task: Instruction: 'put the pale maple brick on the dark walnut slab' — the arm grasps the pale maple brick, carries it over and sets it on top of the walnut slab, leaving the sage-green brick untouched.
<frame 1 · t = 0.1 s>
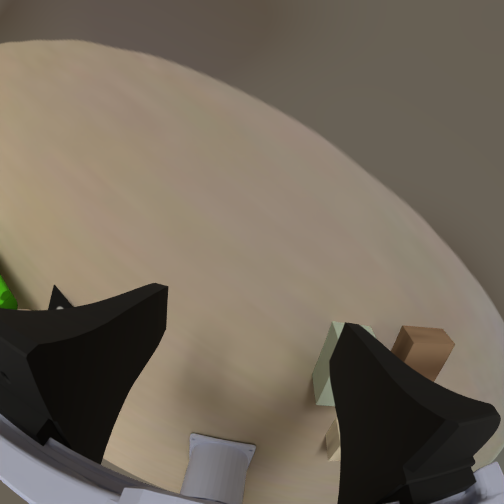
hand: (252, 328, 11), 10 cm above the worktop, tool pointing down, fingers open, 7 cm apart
maple brick: (353, 426, 26), on the worktop
sage brick: (340, 351, 22), on the worktop
walnut slab: (407, 355, 22), on the worktop
toy: (7, 263, 24), on the worktop
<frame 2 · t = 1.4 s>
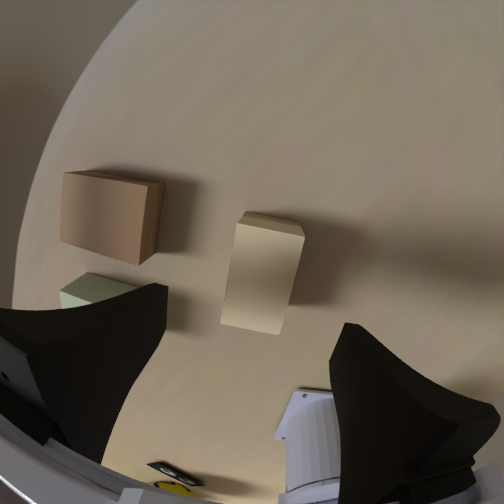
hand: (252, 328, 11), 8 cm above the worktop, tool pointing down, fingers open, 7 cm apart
maple brick: (263, 260, 19), on the worktop
sage brick: (116, 299, 21), on the worktop
walnut slab: (119, 209, 19), on the worktop
toy: (150, 482, 33), on the worktop
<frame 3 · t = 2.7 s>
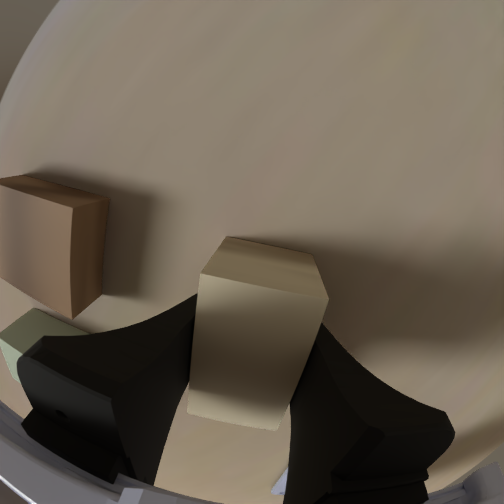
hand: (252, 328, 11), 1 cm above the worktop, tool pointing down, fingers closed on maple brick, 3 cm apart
maple brick: (255, 310, 12), on the worktop, touching gripper
sage brick: (69, 343, 14), on the worktop
walnut slab: (58, 229, 12), on the worktop
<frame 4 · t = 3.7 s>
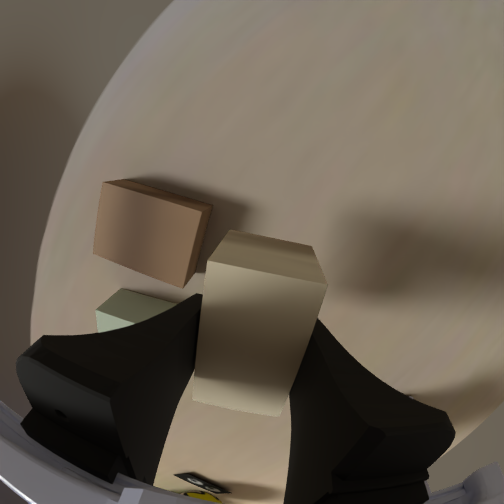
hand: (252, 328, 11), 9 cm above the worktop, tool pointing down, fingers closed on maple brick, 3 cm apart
maple brick: (257, 300, 13), point 6 cm above the worktop, touching gripper
sage brick: (153, 315, 21), on the worktop
walnut slab: (159, 224, 19), on the worktop
toy: (170, 490, 33), on the worktop
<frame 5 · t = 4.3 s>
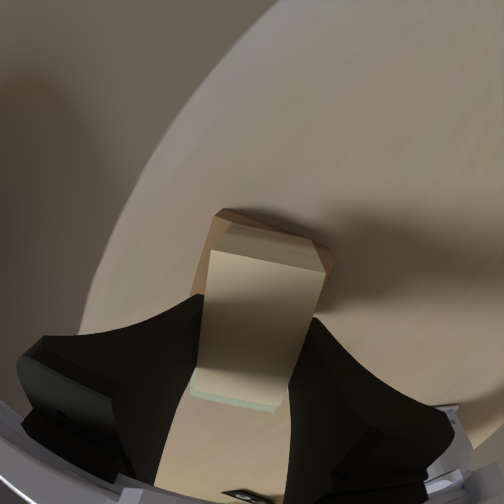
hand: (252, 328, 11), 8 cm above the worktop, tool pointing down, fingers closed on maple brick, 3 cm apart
maple brick: (258, 293, 13), point 5 cm above the worktop, touching gripper
sage brick: (242, 353, 20), on the worktop
walnut slab: (262, 262, 18), on the worktop
when the fingers open (5 cm above the worktop, at t = 5.0 s): maple brick stays where it is, resting on walnut slab.
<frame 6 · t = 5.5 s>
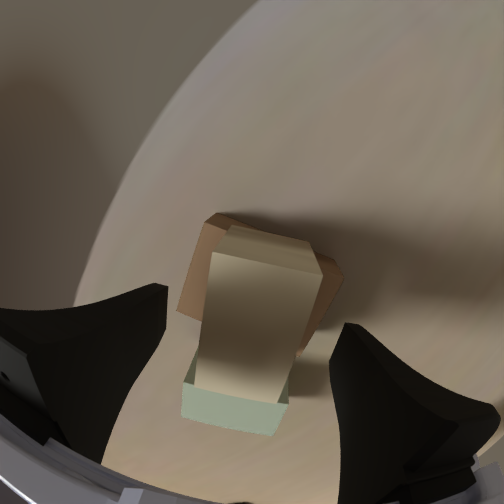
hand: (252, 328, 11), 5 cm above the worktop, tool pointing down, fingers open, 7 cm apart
maple brick: (256, 293, 13), point 3 cm above the worktop, touching walnut slab
sage brick: (239, 371, 18), on the worktop
walnut slab: (260, 273, 16), on the worktop, touching maple brick
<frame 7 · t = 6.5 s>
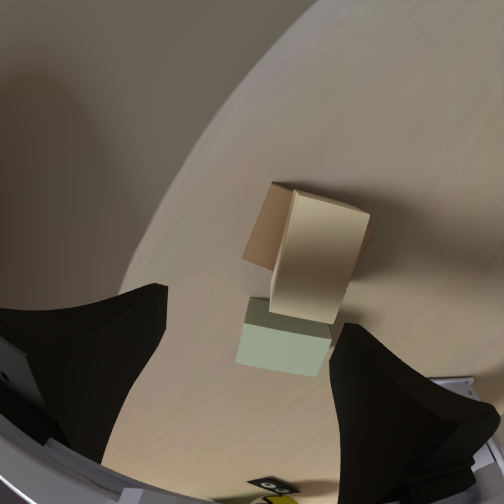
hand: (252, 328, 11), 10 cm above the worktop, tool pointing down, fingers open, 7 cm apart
maple brick: (309, 243, 17), point 3 cm above the worktop
sage brick: (282, 322, 22), on the worktop
walnut slab: (304, 232, 20), on the worktop
toy: (229, 496, 34), on the worktop
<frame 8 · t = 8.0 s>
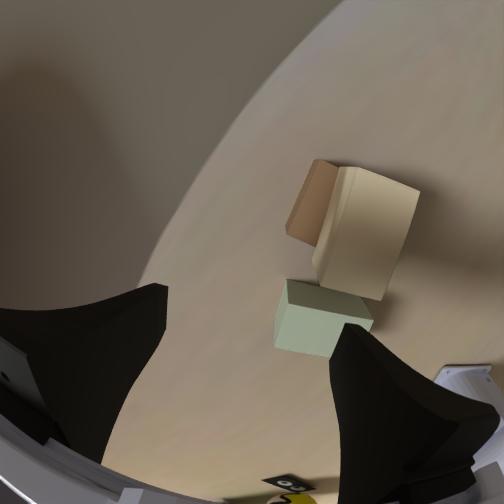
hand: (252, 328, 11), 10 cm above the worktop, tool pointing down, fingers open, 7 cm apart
maple brick: (352, 222, 16), point 3 cm above the worktop, touching walnut slab
sage brick: (317, 306, 21), on the worktop
walnut slab: (343, 212, 19), on the worktop, touching maple brick
toy: (241, 495, 34), on the worktop
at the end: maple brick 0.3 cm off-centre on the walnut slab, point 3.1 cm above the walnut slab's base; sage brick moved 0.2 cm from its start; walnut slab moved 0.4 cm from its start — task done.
